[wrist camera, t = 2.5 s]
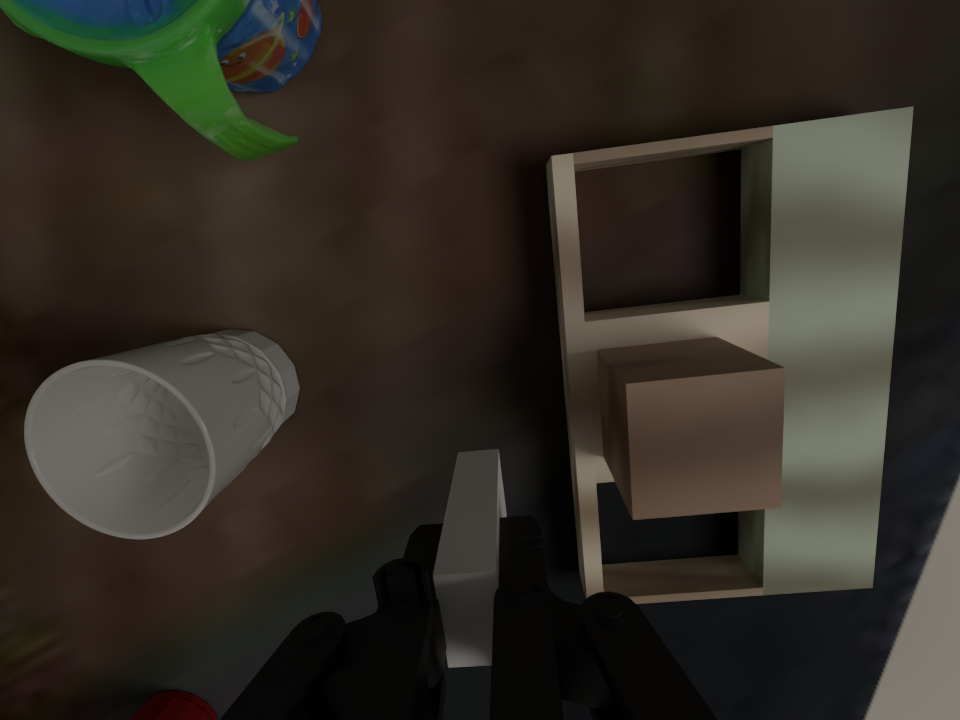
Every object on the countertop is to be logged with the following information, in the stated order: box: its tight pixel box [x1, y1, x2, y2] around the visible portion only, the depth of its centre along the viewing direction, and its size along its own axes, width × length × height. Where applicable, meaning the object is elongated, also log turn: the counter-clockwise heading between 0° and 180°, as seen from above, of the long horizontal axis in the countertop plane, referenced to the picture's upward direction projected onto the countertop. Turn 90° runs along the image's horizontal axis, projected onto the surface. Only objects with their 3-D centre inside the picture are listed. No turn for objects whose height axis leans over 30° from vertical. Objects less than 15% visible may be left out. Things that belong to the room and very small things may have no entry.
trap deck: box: [546, 107, 913, 604], centre depth 26 cm, size 25×16×3 cm, turn 7°
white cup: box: [24, 329, 300, 539], centre depth 24 cm, size 8×8×10 cm
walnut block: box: [597, 337, 785, 520], centre depth 22 cm, size 6×6×6 cm
